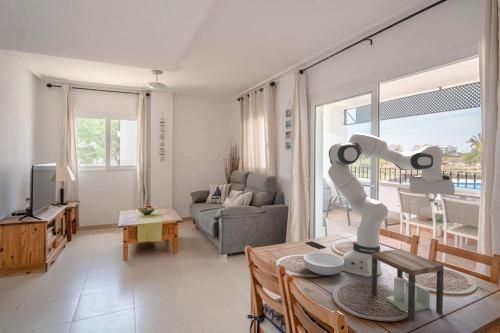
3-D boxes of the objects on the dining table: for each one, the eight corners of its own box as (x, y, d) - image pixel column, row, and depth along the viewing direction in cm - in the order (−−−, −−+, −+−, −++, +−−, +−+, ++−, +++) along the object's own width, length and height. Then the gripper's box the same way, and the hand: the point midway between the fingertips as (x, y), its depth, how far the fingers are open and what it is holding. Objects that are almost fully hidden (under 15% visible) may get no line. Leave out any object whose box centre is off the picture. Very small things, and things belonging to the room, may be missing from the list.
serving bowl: (346, 282, 133) (347, 268, 133) (303, 278, 137) (303, 264, 137) (341, 265, 154) (341, 253, 153) (303, 262, 158) (303, 251, 158)
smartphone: (319, 248, 181) (304, 242, 194) (319, 249, 181) (304, 243, 194) (326, 247, 184) (311, 241, 198) (326, 248, 184) (311, 242, 198)
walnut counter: (411, 321, 101) (412, 270, 100) (371, 295, 120) (371, 252, 119) (442, 313, 106) (443, 265, 105) (399, 289, 125) (400, 248, 124)
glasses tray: (408, 296, 119) (408, 274, 119) (429, 307, 110) (429, 284, 110) (386, 300, 116) (386, 278, 115) (406, 313, 106) (407, 289, 106)
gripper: (409, 176, 147) (408, 201, 148) (455, 177, 138) (455, 204, 138) (408, 175, 153) (408, 199, 153) (453, 176, 144) (452, 202, 144)
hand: (430, 202), depth 146 cm, fingers closed
